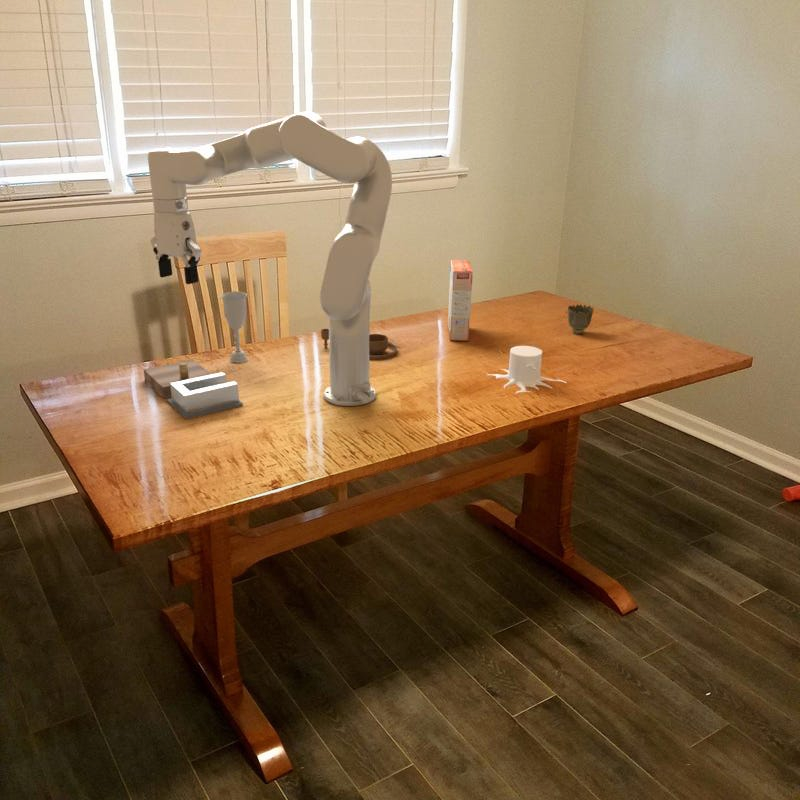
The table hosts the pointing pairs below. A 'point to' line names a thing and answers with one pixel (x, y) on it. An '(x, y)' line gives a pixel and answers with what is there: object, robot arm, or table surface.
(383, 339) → the place setting
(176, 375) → the stand
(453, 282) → the cracker box
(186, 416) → the mat
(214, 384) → the c link
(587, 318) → the cup
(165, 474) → the table surface
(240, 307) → the chalice
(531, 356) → the tree stump
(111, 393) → the table surface
